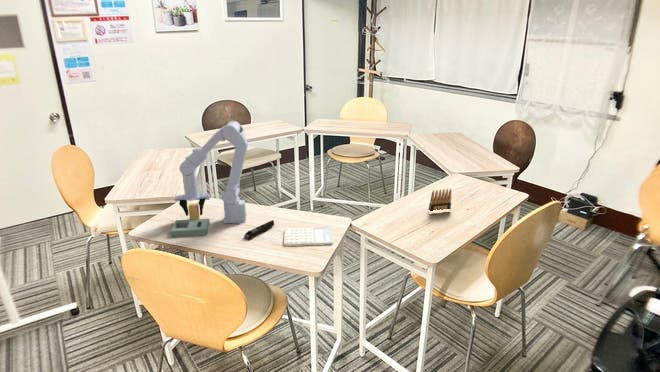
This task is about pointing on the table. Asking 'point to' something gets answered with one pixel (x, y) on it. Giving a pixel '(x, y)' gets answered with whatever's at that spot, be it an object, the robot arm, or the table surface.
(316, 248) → the table surface
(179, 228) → the socket plate
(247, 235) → the electric trimmer
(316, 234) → the calculator
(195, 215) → the square peg
